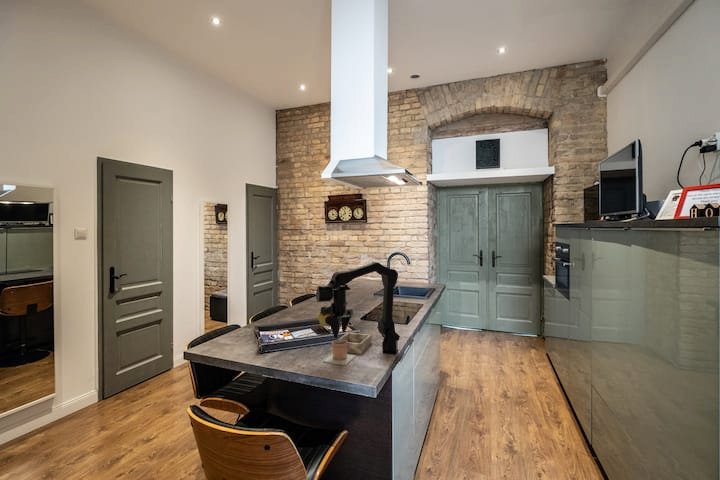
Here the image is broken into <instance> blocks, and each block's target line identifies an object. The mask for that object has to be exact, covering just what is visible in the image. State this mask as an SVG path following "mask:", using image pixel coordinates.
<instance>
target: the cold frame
mask: <svg viewBox="0 0 720 480" xmlns="http://www.w3.org/2000/svg"><path fill="white" fill-rule="evenodd" d="M372 337H373V336H372V334H369V333H368V334H365V333H356V332H345V334H343V335H342V336H340V337H339V338H338V339H337V340H346V341H348V345H347V353H348V354H351V353H352V354H359V355H362V354H363V353H364V352H365V351H366V350H367V349H368V347H370V346H371V344H372V341H373V340H372Z"/></svg>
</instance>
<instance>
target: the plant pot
mask: <svg viewBox="0 0 720 480" xmlns="http://www.w3.org/2000/svg"><path fill="white" fill-rule="evenodd" d="M329 315H331V313H330V314H327V315H325V316H323V315H322V314H321V313H320V312H318V314H317V320H318V321H319V326H322V327H324V326H329V325H327V323H325V318H326V317H327V316H329Z"/></svg>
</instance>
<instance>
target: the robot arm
mask: <svg viewBox="0 0 720 480" xmlns="http://www.w3.org/2000/svg"><path fill="white" fill-rule="evenodd" d="M374 272H375V273H377V274H378V275H379V276H381V281H382V282H381V283H382V285H383V295H382V296H383V300H382V301H383V302H382V315H381V318H380V319H378V320H377V327H376V328H377V330H378V333H379V334H380V335H381V337H382V338H383V339H382V340H383V341H382V342H381V350H382V354H389V355H391V354H392V355H396V354H397V353H398V351H399V348H398V345H399V344H398V342H399V341H400V337H401V336H400V335H399V334H398V332H397V331H396V327H395V326H396V325H395V322H394V319H393V312H394V311H393V309H394V291H395V287H396V285H397V282H398V278H399V273H398V271H397V270H396V269H393V268H390V267H387V266H385V265H383V264H381V263H380V262H377V261H372V262H370V263H367V264H365V265H362V266H360V267H356V268H353V269H350V270H341V271H335V272H334V273H333V274H332V275H331V280H329V282H328V284H327V285H324V286H322V285H318V286H316V293H315V300H316V302H318V303H324V302H331V301H333V302H331V303H330V305H329V306H326V305H325V306H322V307H320V309H319V310H320V312H319V313H321V314H322V315H323V316H325V315H327V314H330V313H331V315H329V316H327V317H326V318H325V323H327V325H329V326H331V331H332V334H333V337H334V339H337V338H338V336H339V334H340V330H341V331H342V333H346V331H347V328H348V326H349V324H350V321H351V319H352V317H353V316H354V310H353V309H352V308H347V305H348V301H347V291H350V290H351V288H350V287H349V285H348V284H349V283H351V282H352V281H353V280H355V279H357V278H359V277H360V278H361V277H362V276H366V275H369V274H371V273H374Z"/></svg>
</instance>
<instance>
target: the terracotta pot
mask: <svg viewBox="0 0 720 480" xmlns="http://www.w3.org/2000/svg"><path fill="white" fill-rule="evenodd" d="M347 345H348V341H346V340H338V339H334V340H332V341H331V346H332V354H333V359H334V360H338V361H340V360H345V359H347V354H348V352H347Z"/></svg>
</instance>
